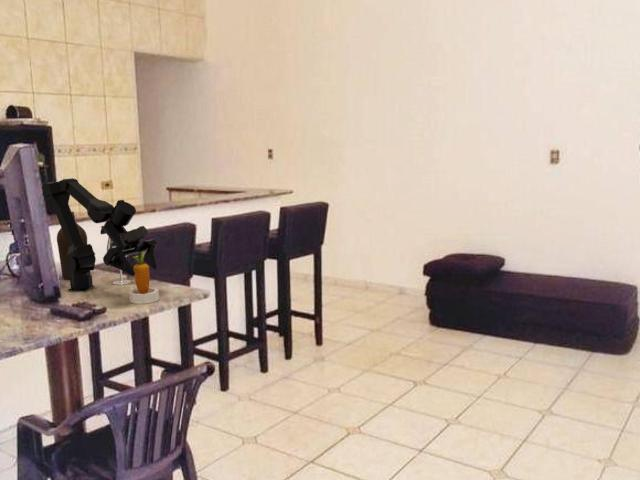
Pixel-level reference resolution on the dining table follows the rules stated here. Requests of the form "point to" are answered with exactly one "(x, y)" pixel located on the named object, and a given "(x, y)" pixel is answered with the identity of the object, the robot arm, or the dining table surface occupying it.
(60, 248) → the olive oil
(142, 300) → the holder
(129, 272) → the robot arm
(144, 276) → the carrot
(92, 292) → the dining table surface
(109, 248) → the wineglass
